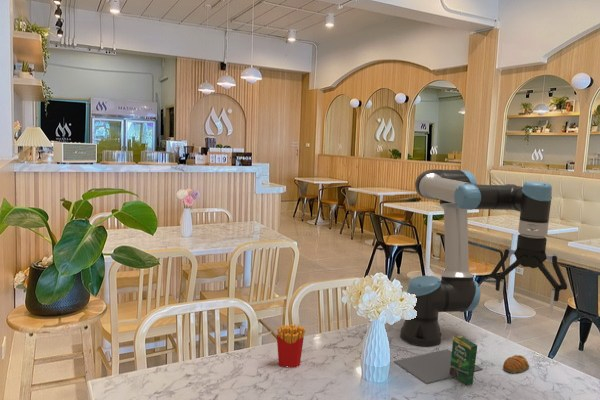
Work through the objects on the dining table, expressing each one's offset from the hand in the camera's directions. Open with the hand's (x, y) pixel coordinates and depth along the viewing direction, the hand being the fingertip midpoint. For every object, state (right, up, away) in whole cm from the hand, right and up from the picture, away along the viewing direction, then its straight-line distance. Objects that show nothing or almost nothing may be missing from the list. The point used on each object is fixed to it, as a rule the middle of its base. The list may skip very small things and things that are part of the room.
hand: (524, 306), depth 138 cm
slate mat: (-20, -24, +18) cm, 36 cm away
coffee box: (-16, -25, +9) cm, 31 cm away
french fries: (-69, -23, +16) cm, 75 cm away
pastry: (+6, -25, +19) cm, 32 cm away
